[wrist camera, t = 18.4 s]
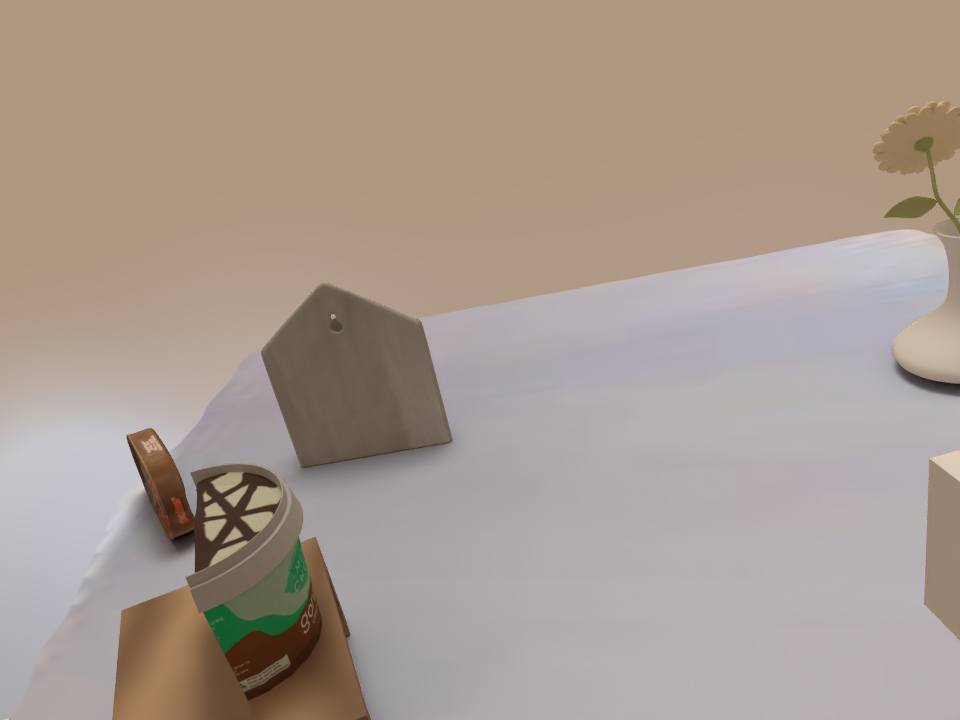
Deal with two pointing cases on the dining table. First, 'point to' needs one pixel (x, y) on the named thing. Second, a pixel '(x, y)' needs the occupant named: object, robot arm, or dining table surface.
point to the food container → (253, 574)
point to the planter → (354, 379)
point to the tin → (162, 482)
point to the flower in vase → (911, 148)
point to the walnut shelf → (208, 676)
